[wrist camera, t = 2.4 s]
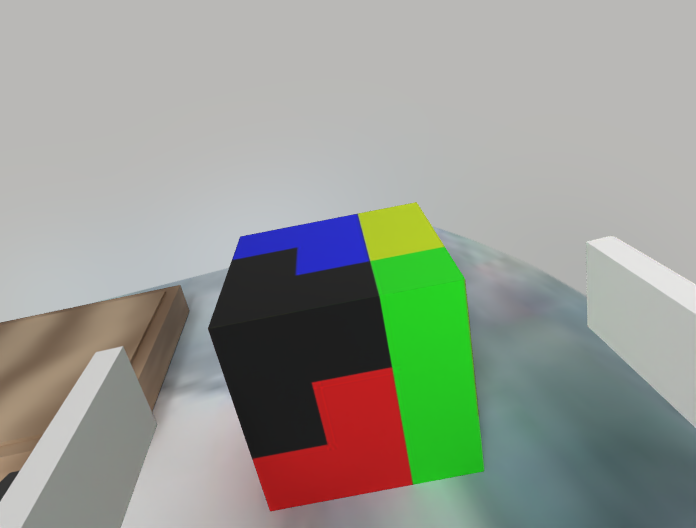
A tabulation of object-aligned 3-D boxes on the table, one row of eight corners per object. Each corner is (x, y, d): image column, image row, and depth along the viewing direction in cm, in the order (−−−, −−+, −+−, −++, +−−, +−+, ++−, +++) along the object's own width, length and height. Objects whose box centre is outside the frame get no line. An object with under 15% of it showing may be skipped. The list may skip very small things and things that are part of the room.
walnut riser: (-203, 540, 28) (-235, 504, 27) (-20, 354, 44) (-36, 327, 43) (130, 468, 28) (112, 430, 27) (189, 310, 45) (179, 282, 44)
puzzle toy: (281, 381, 33) (240, 236, 29) (436, 351, 33) (416, 202, 29) (270, 512, 24) (207, 328, 20) (484, 472, 24) (465, 278, 20)
